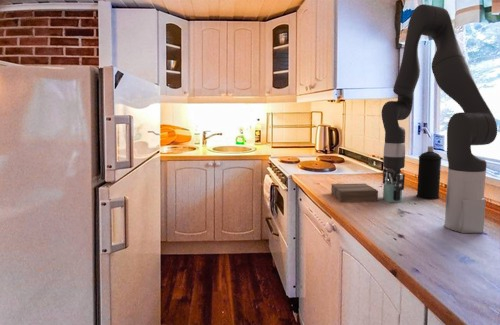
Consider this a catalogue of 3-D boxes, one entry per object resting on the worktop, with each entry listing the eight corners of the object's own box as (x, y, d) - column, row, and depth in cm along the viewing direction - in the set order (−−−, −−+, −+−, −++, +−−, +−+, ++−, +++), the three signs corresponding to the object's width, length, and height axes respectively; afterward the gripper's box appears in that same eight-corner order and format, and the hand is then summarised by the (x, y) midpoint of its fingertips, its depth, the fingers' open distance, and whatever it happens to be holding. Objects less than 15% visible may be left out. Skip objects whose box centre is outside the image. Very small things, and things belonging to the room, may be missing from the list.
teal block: (401, 201, 136) (402, 186, 136) (388, 202, 136) (389, 186, 135) (395, 198, 141) (396, 183, 140) (383, 199, 141) (383, 183, 140)
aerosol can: (426, 200, 138) (429, 147, 135) (411, 195, 146) (414, 145, 143) (444, 198, 140) (447, 146, 138) (428, 193, 148) (431, 145, 145)
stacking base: (377, 201, 138) (378, 190, 137) (341, 201, 137) (341, 191, 136) (364, 192, 151) (364, 183, 151) (331, 193, 151) (331, 184, 150)
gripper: (413, 157, 129) (410, 202, 132) (395, 152, 144) (393, 193, 146) (392, 157, 129) (390, 203, 131) (376, 152, 143) (375, 194, 146)
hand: (392, 197), depth 139 cm, fingers open, 7 cm apart
